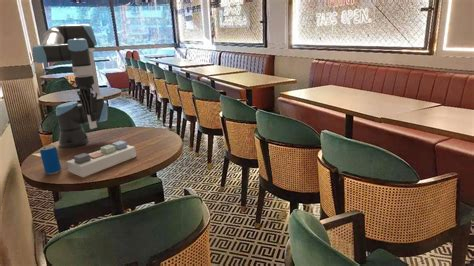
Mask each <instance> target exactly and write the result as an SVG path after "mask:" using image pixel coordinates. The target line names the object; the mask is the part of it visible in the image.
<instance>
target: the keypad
mask: <svg viewBox="0 0 474 266" xmlns="http://www.w3.org/2000/svg"><path fill="white" fill-rule="evenodd" d="M136 151H137V150H136V147H135V146H133V145H129V144H127V148H124V149H121V150H116V151H115V152H113V153H110V154H107V155H106V154H103V153H101V149H99V150H96V151H93V152H90V153H87V154H88V155H92V154H95V153H97V152H98V153H101V154H103V155H104V156H102V157H99V158H96V159H92V158H90V159H91V160H90V161H88V162H85V163H82V164H78V163H76V162H75V160H74V158H72V159H69V160H67V161H66V164H67V169H68V172H69V173H71V174H73V175H76V176H79V177H81V178H85V177H88V176H90V175H93V174H96V173H98V172H100V171H103V170H106V169H108V168H111V167H113V166H116V165H118V164H121V163H123V162H126V161H129V160H131V159H134V158H135V157H137V152H136Z"/></svg>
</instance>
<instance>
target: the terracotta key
mask: <svg viewBox="0 0 474 266" xmlns="http://www.w3.org/2000/svg"><path fill="white" fill-rule="evenodd" d="M102 156H104V155H103V154H101V153H98V152H97V153H95V154H92V155H90V158H92V159H96V158H99V157H102Z"/></svg>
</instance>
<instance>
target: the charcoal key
mask: <svg viewBox="0 0 474 266" xmlns="http://www.w3.org/2000/svg"><path fill="white" fill-rule="evenodd" d="M88 154H89V153H85V152H83V153H80V154H76V155H74V156H73V159H74V160H75V162H76V163H78V164H82V163H85V162H88V161H90V160H91V159H90V155H88Z"/></svg>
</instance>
